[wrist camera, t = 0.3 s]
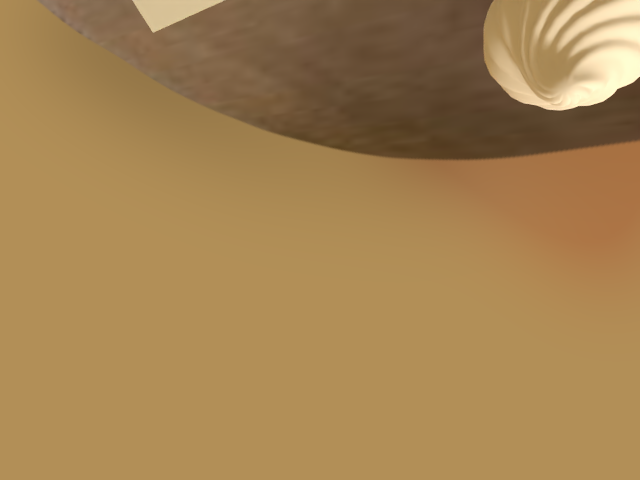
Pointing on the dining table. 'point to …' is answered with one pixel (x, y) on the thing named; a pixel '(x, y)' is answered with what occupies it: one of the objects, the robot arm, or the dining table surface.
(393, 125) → the dining table surface
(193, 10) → the mat
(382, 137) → the dining table surface
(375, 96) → the dining table surface
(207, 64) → the dining table surface
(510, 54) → the soft serve ice cream cone
